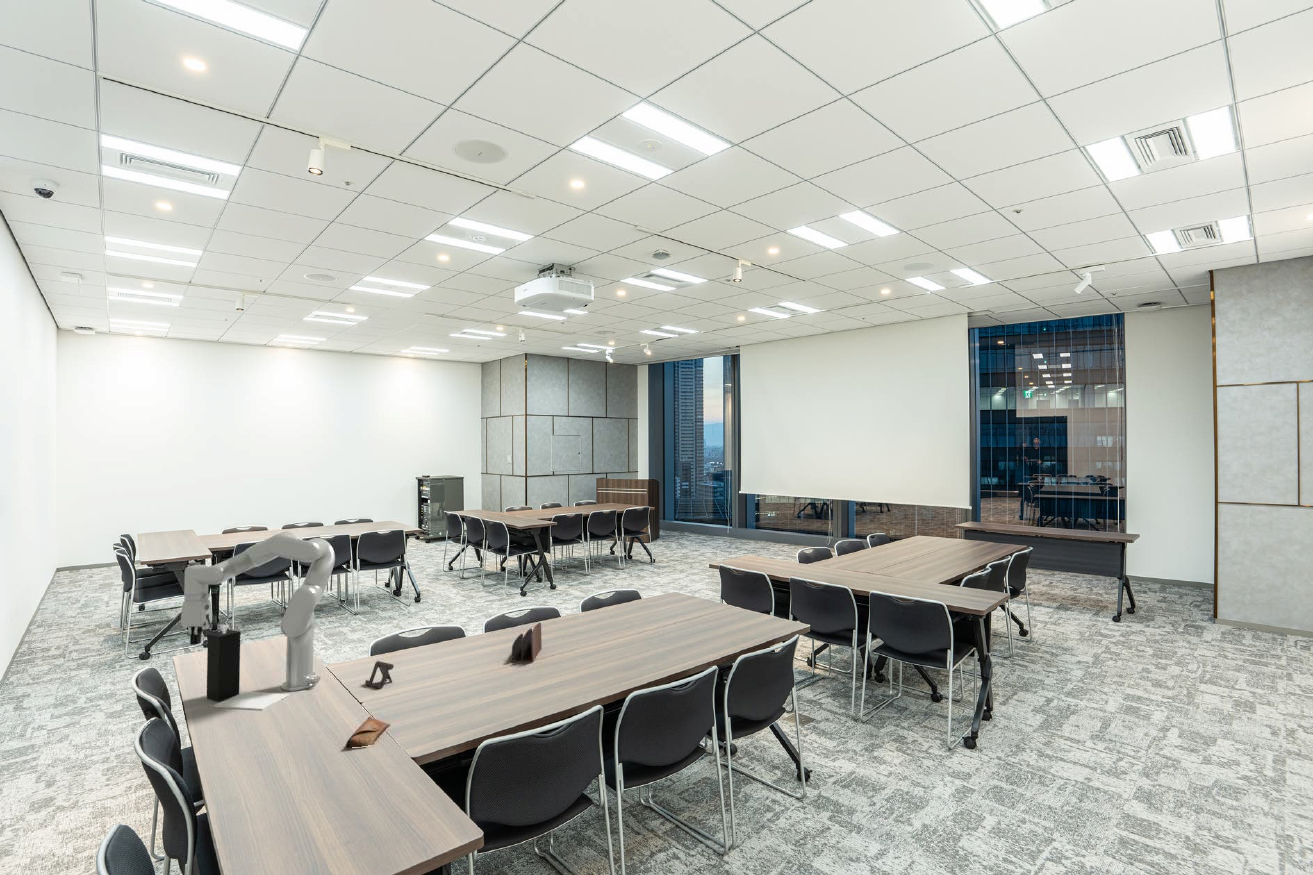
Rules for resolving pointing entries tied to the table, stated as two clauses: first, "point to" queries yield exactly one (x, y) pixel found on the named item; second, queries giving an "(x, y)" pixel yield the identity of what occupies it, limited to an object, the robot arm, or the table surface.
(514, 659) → the letter holder
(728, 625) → the table surface
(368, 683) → the portable electronic device stand
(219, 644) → the black rectangular box
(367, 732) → the sunglasses case
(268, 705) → the white mat
